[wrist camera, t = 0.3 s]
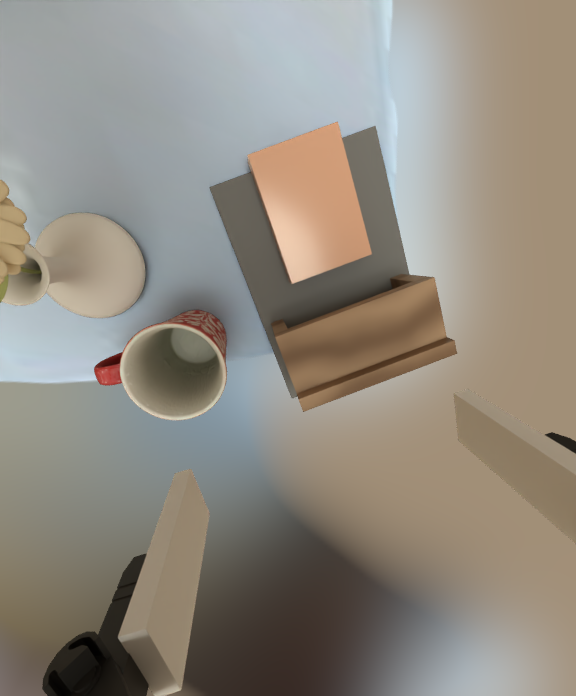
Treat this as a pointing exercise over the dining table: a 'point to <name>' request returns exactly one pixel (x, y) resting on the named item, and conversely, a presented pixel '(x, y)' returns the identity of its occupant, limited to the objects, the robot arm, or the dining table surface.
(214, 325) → the mug
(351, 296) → the mat
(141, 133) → the dining table surface
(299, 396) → the grooved wooden block
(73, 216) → the flower in vase
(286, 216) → the tile
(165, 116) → the dining table surface
